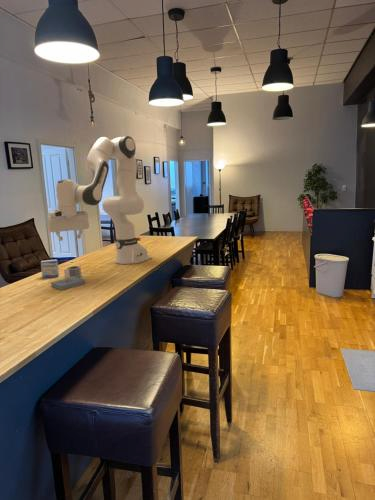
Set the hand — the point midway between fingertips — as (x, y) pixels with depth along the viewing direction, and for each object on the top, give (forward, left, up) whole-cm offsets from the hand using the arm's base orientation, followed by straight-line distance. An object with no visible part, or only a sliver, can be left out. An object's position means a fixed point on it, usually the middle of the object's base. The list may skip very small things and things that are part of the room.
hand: (70, 239), depth 177 cm
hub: (0, +1, -20) cm, 20 cm away
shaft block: (+9, +11, -20) cm, 24 cm away
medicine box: (+7, -11, -20) cm, 24 cm away
